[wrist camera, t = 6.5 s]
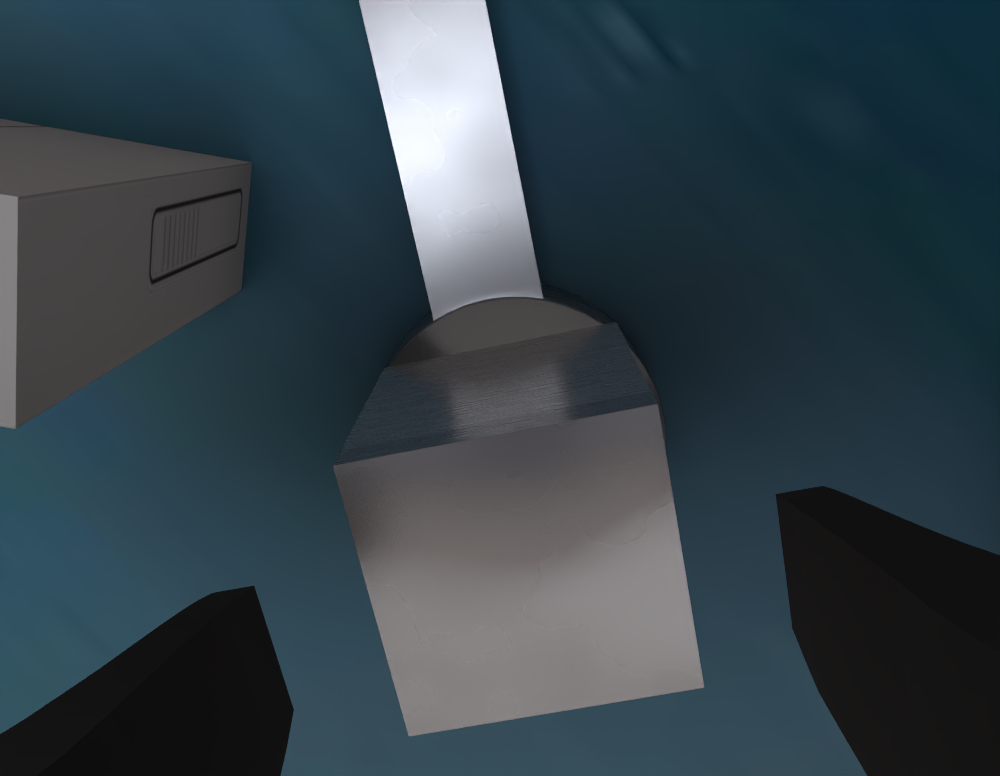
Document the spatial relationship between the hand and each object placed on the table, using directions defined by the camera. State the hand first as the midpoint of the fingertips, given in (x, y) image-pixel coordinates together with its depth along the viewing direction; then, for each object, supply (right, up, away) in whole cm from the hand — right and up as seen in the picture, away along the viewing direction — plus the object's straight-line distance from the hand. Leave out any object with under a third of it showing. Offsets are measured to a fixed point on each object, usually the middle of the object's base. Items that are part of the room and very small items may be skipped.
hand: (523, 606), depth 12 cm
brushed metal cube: (0, +2, +6) cm, 6 cm away
